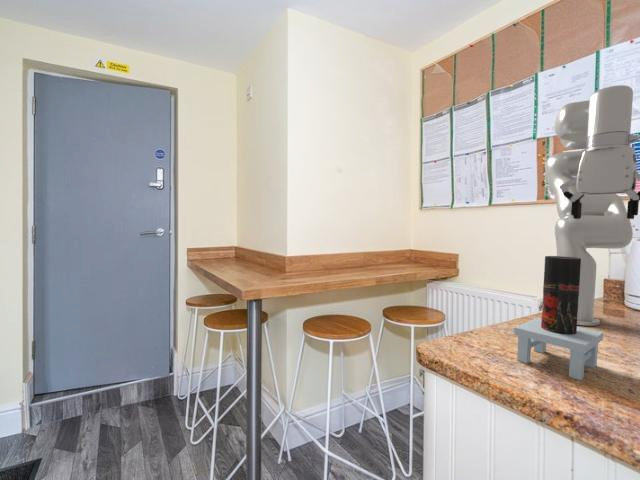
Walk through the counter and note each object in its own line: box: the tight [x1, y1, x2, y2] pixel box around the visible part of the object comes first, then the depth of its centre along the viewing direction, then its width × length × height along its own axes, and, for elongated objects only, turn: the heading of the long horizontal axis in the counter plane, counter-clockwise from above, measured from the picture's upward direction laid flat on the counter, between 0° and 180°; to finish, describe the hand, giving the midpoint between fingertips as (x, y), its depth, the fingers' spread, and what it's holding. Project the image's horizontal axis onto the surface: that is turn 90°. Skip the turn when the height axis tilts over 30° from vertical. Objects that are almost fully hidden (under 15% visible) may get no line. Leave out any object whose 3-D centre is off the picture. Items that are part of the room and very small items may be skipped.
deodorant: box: [541, 255, 581, 335], centre depth 68 cm, size 6×6×15 cm
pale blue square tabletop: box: [513, 317, 604, 381], centre depth 68 cm, size 12×12×7 cm
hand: (602, 218), depth 77 cm, fingers open, 9 cm apart
